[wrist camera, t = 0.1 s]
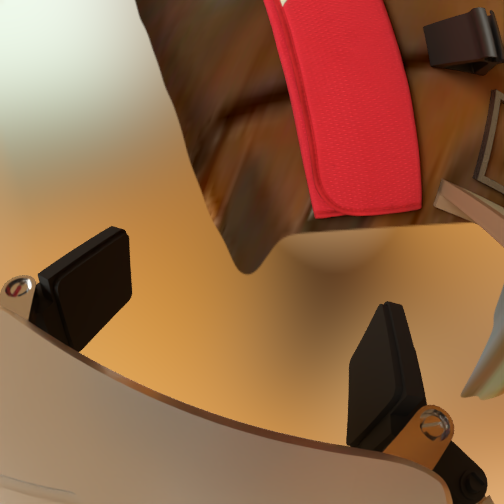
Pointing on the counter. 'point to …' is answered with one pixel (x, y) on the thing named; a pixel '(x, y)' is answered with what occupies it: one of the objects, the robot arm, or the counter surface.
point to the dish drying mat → (349, 105)
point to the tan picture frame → (471, 208)
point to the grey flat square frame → (489, 141)
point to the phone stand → (465, 42)
